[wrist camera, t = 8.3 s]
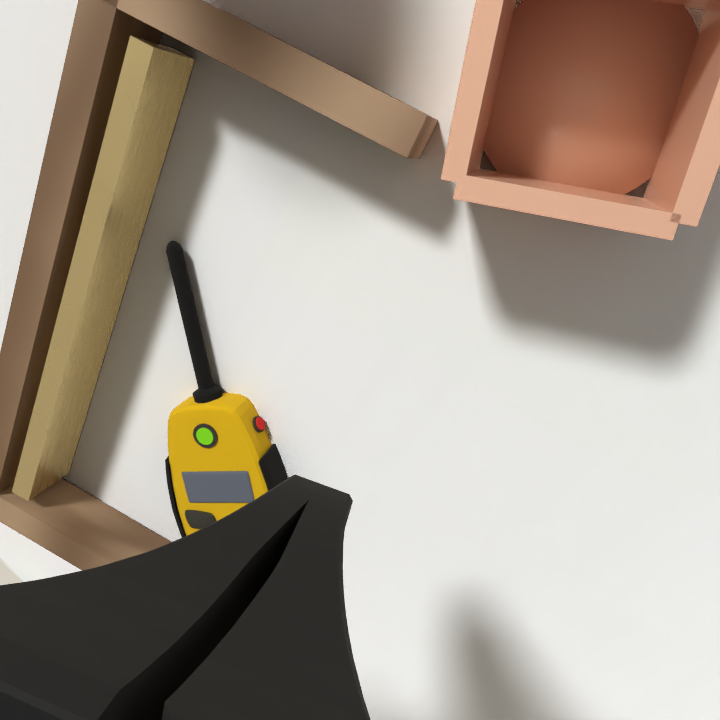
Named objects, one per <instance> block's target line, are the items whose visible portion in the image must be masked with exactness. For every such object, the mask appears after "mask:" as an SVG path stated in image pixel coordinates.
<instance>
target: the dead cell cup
mask: <svg viewBox="0 0 720 720" xmlns="http://www.w3.org/2000/svg"><path fill="white" fill-rule="evenodd" d="M515 5H516V0H476V3H475V8H474V13H473V18H472V23H471V28H470V33H469V38H468V43H467V48H466V53H465V58H464V63H463V68H462V73H461V78H460V84H459V89H458V94H457V99H456V104H455V109H454V114H453V119H452V124H451V129H450V134H449V139H448V144H447V149H446V154H445V159H444V164H443V169H442V174H441V180H446V181H452V182H456V186H455V191H454V196H453V199H457V200H462V201H467V202H472V203H478V204H483V205H488V206H493V207H499V208H504V209H509V210H514V211H520V212H525V213H530V214H535V215H541V216H546V217H551V218H557V219H562V220H567V221H572V222H578V223H583V224H588V225H593V226H599V227H604V228H609V229H614V230H620V231H625V232H630V233H635V234H641V235H646V236H651V237H656V238H662V239H667V240H672V241H673V238H674V235H675V232H676V229H677V227H678V224H685V225H690V226H696V227H697V226H698V223H699V220H700V217H701V215H702V212H703V209H704V207H705V204H706V201H707V198H708V196H709V193H710V190H711V188H712V185H713V182H714V179H715V177H716V174H717V171H718V168H719V166H720V0H524V1H523V2H522V3H521V4H520V5H519V6H518V7H517V8H516V9H515ZM686 8H692V9H700V10H705V11H704V14H703V17H702V20H701V23H700V26H699V29H698V30H697V28H696V26H695V24H694V21H693V19H692V17H691V16H690V14H689V13H688V11H687V10H686ZM483 150H484V151H485V153H486V154H487V156H488V158H489V160H490V162H491V163H492V164H493V166H494V167H495V169H496V170H497V171H498V172H496V171H490V170H485V169H479V168H480V163H481V159H482V154H483ZM647 180H649V182H648V185H647V188H646V191H645V194H644V197H643V198H641V197H636V196H630V195H625V194H626V193H628V192H630V191H632V190H633V189H635V188H637V187H639V186H640V185H642V184H643V183H645V182H646V181H647Z"/></svg>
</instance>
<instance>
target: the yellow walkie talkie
mask: <svg viewBox="0 0 720 720" xmlns="http://www.w3.org/2000/svg"><path fill="white" fill-rule="evenodd" d="M166 253H167V257H168V261H169V265H170V270H171V274H172V278H173V282H174V286H175V291H176V295H177V299H178V303H179V308H180V312H181V316H182V320H183V324H184V329H185V333H186V337H187V341H188V346H189V350H190V354H191V358H192V362H193V367H194V371H195V375H196V379H197V384H198V389H197V390H196V391H194V392H193V397H189V398H188V399H186V400H185V401H184V402H182V403H181V404H180V405H178V406H177V407H176V408H174V409H173V411H172V412H171V413H170V416H169V420H168V451H169V456H168V457H167V459H166V460H165V462H166V475H167V484H168V489H169V495H170V500H171V504H172V509H173V513H174V516H175V519H176V522H177V525H178V528H179V531H180V534H181V536H182V538H183V537H185V536H187V535H190V534H192V533H194V532H196V531H198V530H200V529H202V528H204V527H206V526H208V525H210V524H212V523H214V522H216V521H218V520H220V519H222V518H224V517H225V516H227V515H229V514H231V513H233V512H234V511H236V510H238V509H240V508H241V507H243V506H245V505H246V504H248V503H250V502H252V501H253V500H255V499H257V498H258V497H260V496H261V495H263V494H265V493H266V492H268V491H269V490H271V489H272V488H274V487H275V486H277V485H278V484H280V483H282V482H283V481H285V480H286V479H288V478H287V475H286V471H285V467H284V465H283V462H282V459H281V457H280V454H279V452H278V449H277V447H276V444H273V445H272V444H271V442H270V440H269V437H268V435H267V432H266V430H265V422H264V420H263V419H262V418H261V417H260V416H259V415H258V413H257V411H256V409H255V407H254V406H253V404H252V403H251V401H250V400H249V399H248V398H247V397H244V396H242V395H240V394H233V393H222V388H221V387H220V386H216V385H213V380H212V376H211V371H210V367H209V363H208V358H207V354H206V350H205V345H204V341H203V336H202V332H201V328H200V323H199V319H198V315H197V310H196V306H195V301H194V297H193V293H192V288H191V284H190V280H189V275H188V271H187V266H186V262H185V258H184V253H183V249H182V247H181V245H180V244H179V243H177V242H176V241H173V240H172V241H171V242H169V243H168V245H167V249H166Z"/></svg>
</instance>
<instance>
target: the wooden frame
mask: <svg viewBox="0 0 720 720" xmlns="http://www.w3.org/2000/svg"><path fill="white" fill-rule="evenodd" d="M162 32H164V33H166V34H168V35H170V36H172V37H173V38H175V39H177V40H179V41H181V42H183V43H185V44H187V45H189V46H191V47H193V48H195V49H197V50H199V51H201V52H202V53H204V54H206V55H208V56H210V57H212V58H214V59H216V60H218V61H220V62H222V63H224V64H226V65H228V66H230V67H231V68H233V69H235V70H237V71H239V72H241V73H243V74H245V75H247V76H249V77H251V78H253V79H255V80H257V81H259V82H260V83H262V84H264V85H266V86H268V87H270V88H272V89H274V90H276V91H278V92H280V93H282V94H284V95H286V96H288V97H289V98H291V99H293V100H295V101H297V102H299V103H301V104H303V105H305V106H307V107H309V108H311V109H313V110H315V111H317V112H319V113H320V114H322V115H324V116H326V117H328V118H330V119H332V120H334V121H336V122H338V123H340V124H342V125H344V126H346V127H348V128H349V129H351V130H353V131H355V132H357V133H359V134H361V135H363V136H365V137H367V138H369V139H371V140H373V141H375V142H377V143H378V144H380V145H382V146H384V147H386V148H388V149H390V150H392V151H394V152H396V153H398V154H400V155H402V156H404V157H406V158H420V157H421V155H422V153H423V151H424V149H425V147H426V145H427V143H428V141H429V139H430V136H431V134H432V132H433V130H434V128H435V126H436V124H437V122H438V120H436V119H434V118H432V117H430V116H429V115H427V114H425V113H423V112H421V111H419V110H417V109H415V108H413V107H411V106H409V105H407V104H405V103H403V102H401V101H399V100H397V99H395V98H393V97H391V96H389V95H387V94H385V93H383V92H382V91H380V90H378V89H376V88H374V87H372V86H370V85H368V84H366V83H364V82H362V81H360V80H358V79H356V78H354V77H352V76H350V75H348V74H346V73H344V72H342V71H340V70H338V69H336V68H334V67H333V66H331V65H329V64H327V63H325V62H323V61H321V60H319V59H317V58H315V57H313V56H311V55H309V54H307V53H305V52H303V51H301V50H299V49H297V48H295V47H293V46H291V45H289V44H287V43H286V42H284V41H282V40H280V39H278V38H276V37H274V36H272V35H270V34H268V33H266V32H264V31H262V30H260V29H258V28H256V27H254V26H252V25H250V24H248V23H246V22H244V21H242V20H240V19H238V18H237V17H235V16H233V15H231V14H229V13H227V12H225V11H223V10H221V9H219V8H217V7H215V6H213V5H211V4H209V3H207V2H205V1H203V0H78V5H77V9H76V14H75V18H74V23H73V27H72V32H71V36H70V41H69V45H68V50H67V54H66V59H65V63H64V68H63V72H62V77H61V81H60V86H59V90H58V95H57V100H56V104H55V109H54V113H53V118H52V122H51V127H50V131H49V136H48V140H47V145H46V149H45V154H44V158H43V163H42V167H41V172H40V176H39V181H38V185H37V190H36V194H35V199H34V203H33V208H32V212H31V217H30V221H29V226H28V230H27V235H26V239H25V244H24V248H23V253H22V257H21V262H20V266H19V271H18V275H17V280H16V284H15V289H14V293H13V298H12V302H11V307H10V311H9V316H8V320H7V325H6V329H5V334H4V338H3V343H2V347H1V352H0V522H1V523H3V524H5V525H6V526H8V527H10V528H12V529H13V530H15V531H17V532H18V533H20V534H22V535H23V536H25V537H27V538H28V539H30V540H32V541H34V542H35V543H37V544H39V545H40V546H42V547H44V548H45V549H47V550H49V551H50V552H52V553H54V554H55V555H57V556H59V557H61V558H62V559H64V560H66V561H67V562H69V563H71V564H72V565H74V566H76V567H77V568H79V569H81V570H87V569H91V568H95V567H99V566H103V565H106V564H109V563H113V562H116V561H119V560H123V559H126V558H129V557H132V556H136V555H139V554H142V553H145V552H148V551H151V550H154V549H156V548H159V547H161V546H164V545H166V544H169V543H171V542H170V541H169V540H167V539H165V538H164V537H162V536H160V535H158V534H157V533H155V532H153V531H152V530H150V529H148V528H146V527H145V526H143V525H141V524H139V523H138V522H136V521H134V520H133V519H131V518H129V517H127V516H126V515H124V514H122V513H121V512H119V511H117V510H115V509H114V508H112V507H110V506H109V505H107V504H105V503H103V502H102V501H100V500H98V499H96V498H95V497H93V496H91V495H90V494H88V493H86V492H84V491H83V490H81V489H79V488H78V487H76V486H74V485H72V484H71V483H69V482H67V481H66V480H64V479H62V478H61V479H59V480H58V481H56V482H55V483H54V484H52V485H51V486H49V487H48V488H47V489H45V490H44V491H42V492H41V493H40V494H38V495H37V496H35V497H34V498H32V499H31V500H30V501H27V500H25V499H23V498H22V497H20V496H18V495H16V494H15V493H13V492H12V489H13V485H14V481H15V477H16V474H17V470H18V466H19V462H20V458H21V454H22V451H23V447H24V443H25V439H26V435H27V431H28V427H29V424H30V420H31V416H32V412H33V408H34V404H35V400H36V397H37V393H38V389H39V385H40V381H41V377H42V373H43V370H44V366H45V362H46V358H47V354H48V350H49V346H50V343H51V339H52V335H53V331H54V327H55V323H56V319H57V316H58V312H59V308H60V304H61V300H62V296H63V293H64V289H65V285H66V281H67V277H68V273H69V269H70V266H71V262H72V258H73V254H74V250H75V246H76V242H77V239H78V235H79V231H80V227H81V223H82V219H83V215H84V212H85V208H86V204H87V200H88V196H89V192H90V188H91V185H92V181H93V177H94V173H95V169H96V165H97V161H98V158H99V154H100V150H101V146H102V142H103V138H104V135H105V131H106V127H107V123H108V119H109V115H110V111H111V108H112V104H113V100H114V96H115V92H116V88H117V84H118V81H119V77H120V73H121V69H122V65H123V61H124V57H125V54H126V50H127V46H128V42H129V38H130V35H131V36H134V37H137V38H141V39H144V40H147V41H150V42H153V43H157V44H159V41H160V38H161V34H162Z"/></svg>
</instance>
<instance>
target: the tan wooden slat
mask: <svg viewBox="0 0 720 720" xmlns="http://www.w3.org/2000/svg"><path fill="white" fill-rule="evenodd" d="M194 61H195V60H194V59H192V58H191V57H189V56H187V55H185V54H183V53H181V52H179V51H177V50H175V49H173V48H169V47H166V46H163V45H160V44H157V43H153V42H150V41H147V40H144V39H141V38H137V37H134V36H131V35H130V38H129V42H128V46H127V50H126V54H125V57H124V61H123V65H122V69H121V73H120V77H119V81H118V84H117V88H116V92H115V96H114V100H113V104H112V108H111V111H110V115H109V119H108V123H107V127H106V131H105V135H104V138H103V142H102V146H101V150H100V154H99V158H98V161H97V165H96V169H95V173H94V177H93V181H92V185H91V188H90V192H89V196H88V200H87V204H86V208H85V212H84V215H83V219H82V223H81V227H80V231H79V235H78V239H77V242H76V246H75V250H74V254H73V258H72V262H71V266H70V269H69V273H68V277H67V281H66V285H65V289H64V293H63V296H62V300H61V304H60V308H59V312H58V316H57V319H56V323H55V327H54V331H53V335H52V339H51V343H50V346H49V350H48V354H47V358H46V362H45V366H44V370H43V373H42V377H41V381H40V385H39V389H38V393H37V397H36V400H35V404H34V408H33V412H32V416H31V420H30V424H29V427H28V431H27V435H26V439H25V443H24V447H23V451H22V454H21V458H20V462H19V466H18V470H17V474H16V477H15V481H14V485H13V489H12V492H13V493H15V494H16V495H18V496H20V497H22V498H23V499H25V500H27V501H30V500H31V499H32V498H34V497H35V496H37V495H38V494H40V493H41V492H42V491H44V490H45V489H47V488H48V487H49V486H51V485H52V484H54V483H55V482H56V481H58V480H59V479H61V478H62V477H63V476H65V475H66V474H68V473H69V471H70V467H71V464H72V461H73V458H74V454H75V451H76V448H77V444H78V441H79V438H80V435H81V431H82V428H83V425H84V422H85V418H86V415H87V412H88V408H89V405H90V402H91V399H92V395H93V392H94V389H95V386H96V382H97V379H98V376H99V372H100V369H101V366H102V363H103V359H104V356H105V353H106V349H107V346H108V343H109V340H110V336H111V333H112V330H113V327H114V323H115V320H116V317H117V313H118V310H119V307H120V304H121V300H122V297H123V294H124V290H125V287H126V284H127V281H128V277H129V274H130V271H131V268H132V264H133V261H134V258H135V254H136V251H137V248H138V245H139V241H140V238H141V235H142V232H143V228H144V225H145V222H146V218H147V215H148V212H149V209H150V205H151V202H152V199H153V195H154V192H155V189H156V186H157V182H158V179H159V176H160V173H161V169H162V166H163V163H164V159H165V156H166V153H167V150H168V146H169V143H170V140H171V136H172V133H173V130H174V127H175V123H176V120H177V117H178V114H179V110H180V107H181V104H182V100H183V97H184V94H185V91H186V87H187V84H188V81H189V77H190V74H191V71H192V68H193V64H194Z"/></svg>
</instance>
